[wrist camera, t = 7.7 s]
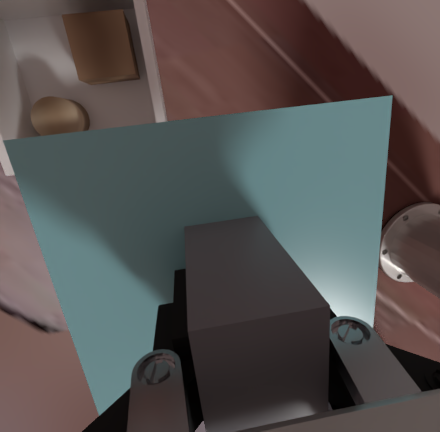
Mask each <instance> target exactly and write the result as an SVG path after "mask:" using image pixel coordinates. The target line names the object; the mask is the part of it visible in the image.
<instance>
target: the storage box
mask: <svg viewBox="0 0 440 432" xmlns="http://www.w3.org/2000/svg"><path fill="white" fill-rule="evenodd" d="M118 9H123V11H124V14H125V16H126V18H127V20H128V22H129V25H130V30H131V35H132V40H133V45H134V50H135V55H136V60H137V65H138V70H139V75H140V79H139V80H130V81H122V82H113V83H105V84H96V85H89V84H87V83H84V82H82V81H79V79H78V75H77V71H76V67H75V64H74V60H73V56H72V52H71V49H70V45H69V41H68V37H67V34H66V30H65V26H64V22H63V19H62V15H63V14H74V13H85V12H96V11H107V10H118ZM48 96H53V97H59V98H65V99H70V100H74V101H76V102H78V103H79V104H81V105H82V106H83V107H84V108H85V110H86V111H87V113H88V115H89V119H90V126H89V129H88V131H89V130H98V129H106V128H115V127H124V126H132V125H141V124H149V123H158V122H167V115H166V110H165V104H164V99H163V93H162V87H161V82H160V76H159V70H158V65H157V59H156V54H155V48H154V42H153V37H152V31H151V25H150V20H149V14H148V8H147V3H146V0H0V162H1V164H2V167H3V169H4V172H5V175H6V176H9V175H15V174H14V171H13V168H12V165H11V163H10V160H9V157H8V154H7V151H6V148H5V145H4V143H3V140H11V139H20V138H28V137H37V136H41V135H40V134H39V133H38V132H37V131H36V130H35V128H34V127H33V124H32V121H31V110H32V107H33V105H34V104H35V103H36V102H37V101H38V100H39V99H41V98H43V97H48Z"/></svg>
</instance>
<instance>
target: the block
mask: <svg viewBox="0 0 440 432" xmlns="http://www.w3.org/2000/svg"><path fill="white" fill-rule="evenodd" d="M62 19H63V22H64V26H65V30H66V34H67V37H68V41H69V45H70V49H71V52H72V56H73V60H74V64H75V67H76V71H77V75H78V79H79V81H82V82H84V83H87V84H89V85H96V84H105V83H113V82H122V81H130V80H139V79H140V75H139V70H138V65H137V60H136V55H135V50H134V45H133V40H132V35H131V30H130V25H129V22H128V20H127V18H126V16H125V14H124V11H123V9H118V10H107V11H96V12H85V13H74V14H63V15H62Z"/></svg>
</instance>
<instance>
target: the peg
mask: <svg viewBox="0 0 440 432" xmlns="http://www.w3.org/2000/svg"><path fill="white" fill-rule="evenodd" d="M31 121H32V124H33V127H34V128H35V130H36V131H37V132H38V133H39V134H40V135H41V136H46V135H54V134H63V133H72V132H80V131H88V129H89V126H90V119H89V115H88V113H87V111H86V110H85V108H84V107H83V106H82V105H81V104H79V103H78V102H76V101H74V100H70V99H65V98H59V97H53V96H48V97H43V98H41V99H39V100H38V101H37V102H36V103H35V104H34V105H33V107H32V110H31Z"/></svg>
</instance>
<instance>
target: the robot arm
mask: <svg viewBox="0 0 440 432" xmlns="http://www.w3.org/2000/svg"><path fill="white" fill-rule="evenodd" d="M378 265H379V267H380V269H381V270H382V271H383V272H384V273H385V274H386V275H387V276H389V277H390V278H392V279H394V280H396V281H400V282H413V281H414V282H416V283H417V284H419V285H420V286H422V287H423V288H425V289H426V290H428V291H429V292H431V293H432V294H434V295H435V296H437V297H438V298H440V205H438V204H435V203H431V202H422V203H416V204H413V205H411V206H408V207H406V208H404V209H403V210H401V211H399V212H398V213H397V214H396V215H394V216H393V217H392V218H391V219H390V220H389V222H388V223H387V224H386V225H385V227H384V228H383V230H382V232H381V239H380V251H379V263H378ZM202 421H204V418H203V413H202V407H201V402H200V396H199V391H198V385H197V380H196V374H195V369H194V363H193V357H192V352H191V346H190V341H189V335H188V322H187V293H186V269H180V270H175V271H174V294H173V303H168V304H162V305H159V306H158V311H157V320H156V328H155V336H154V344H153V351H152V352H150V353H148V354H146V355H145V356H143V357H142V358H141V359H140V360H139V361H138V362H137V363H136V364H135V366H134V368H133V371H132V374H131V386H130V388H129V389H128V390H127V391H126V392H125V393H124V394H123V395H122V396H121V397H119V398H118V399H117V400H116V401H115V402H114V403H113V404H112V405H111V406H110V407H108V408H107V409H106V410H105V411H104V412H103V413H102V414H101V415H100V416H99V417H98V418H96V419H95V420H94V421H93V422H92V423H91V424H90V425H89V426H88V427H87V428H86V429H84V430H83V431H82V432H195V430H196V429H197V428H198V426H199V425H200V424H201V422H202ZM235 432H440V363H439V362H436V361H434V360H431V359H428V358H425V357H422V356H419V355H416V354H413V353H410V352H407V351H404V350H402V349H399V348H396V347H393V346H390V345H387V344H385V343H384V342H383V341H382V339H381V338H380V337H379V335H378V334H377V333H376V332H375V330H374V329H373V328H372V327H371V326H370V325H369V324H368V323H366V322H364V321H363V320H361V319H358V318H355V317H350V316H339V317H337V316H336V315H335V313H334V312H333V311H332V310H331V308H330V341H329V386H328V412H323V413H318V414H314V415H309V416H304V417H300V418H295V419H290V420H286V421H281V422H276V423H272V424H267V425H262V426H258V427H253V428H248V429H244V430H239V431H235Z"/></svg>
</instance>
